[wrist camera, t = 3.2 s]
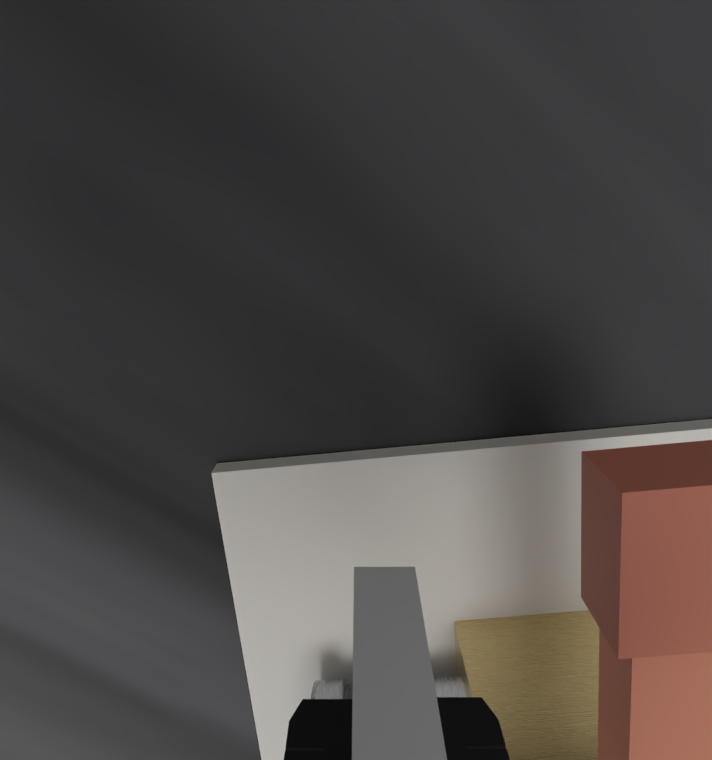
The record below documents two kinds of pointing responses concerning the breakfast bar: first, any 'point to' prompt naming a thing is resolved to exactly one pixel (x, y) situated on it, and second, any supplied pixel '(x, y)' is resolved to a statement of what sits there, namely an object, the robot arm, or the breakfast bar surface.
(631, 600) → the lever
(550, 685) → the valve body
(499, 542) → the mounting board
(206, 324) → the breakfast bar surface
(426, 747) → the robot arm
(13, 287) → the breakfast bar surface
